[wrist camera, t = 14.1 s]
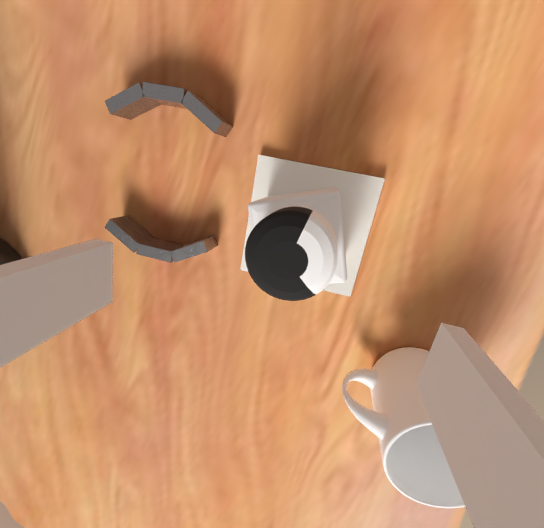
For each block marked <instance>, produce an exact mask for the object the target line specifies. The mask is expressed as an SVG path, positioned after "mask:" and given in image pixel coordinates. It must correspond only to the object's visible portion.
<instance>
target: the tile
mask: <svg viewBox="0 0 544 528" xmlns="http://www.w3.org/2000/svg"><path fill="white" fill-rule="evenodd" d="M384 180H385V178H379V177H374V176H369V175H363V174H358V173H353V172H348V171H342V170H337V169H332V168H326V167H321V166H316V165H311V164H305V163H300V162H295V161H289V160H284V159H279V158H274V157H268V156H263V155H258V161H257V167H256V174H255V180H254V186H253V193H252V199H251V202H253V201H256V200H259V199H262V198H265V197H268V196H275V195H282V194H289V193H297V192H304V191H312V190H319V189H326V188H334V187H336V188H338V189H339V191H340V194H341V203H342V216H343V229H344V241H345V254H346V267H347V280H346V281H345V282H344V283H331V284H328V285H327V286H326V287H325V288H324V289H323V290H325V291H329V292H333V293H337V294H341V295H345V296H349V297H350V296H351V293H352V289H353V286H354V282H355V279H356V276H357V272H358V269H359V265H360V262H361V258H362V255H363V252H364V248H365V245H366V241H367V238H368V235H369V231H370V228H371V224H372V221H373V217H374V214H375V211H376V207H377V204H378V200H379V197H380V193H381V190H382V187H383V183H384ZM251 231H252V230H251V223H250V217H249V218H248V225H247V231H246V237H245V244H244V250H243V257H242V263H241V269H240V270H243V271H247V272H248V269H247V266H246V261H245V247H246V242H247V239H248V237H249V235H250V233H251Z"/></svg>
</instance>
